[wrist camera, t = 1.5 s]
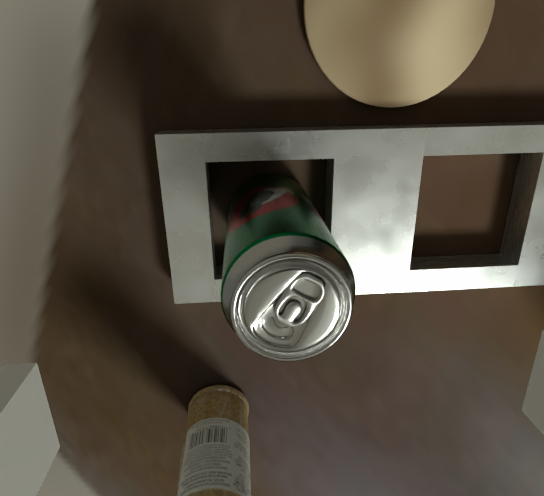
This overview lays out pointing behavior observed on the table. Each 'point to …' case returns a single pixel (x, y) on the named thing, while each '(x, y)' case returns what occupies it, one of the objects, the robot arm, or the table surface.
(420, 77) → the coaster
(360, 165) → the white flat rectangular frame
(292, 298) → the soda can
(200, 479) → the sprinkles bottle
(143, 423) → the table surface
